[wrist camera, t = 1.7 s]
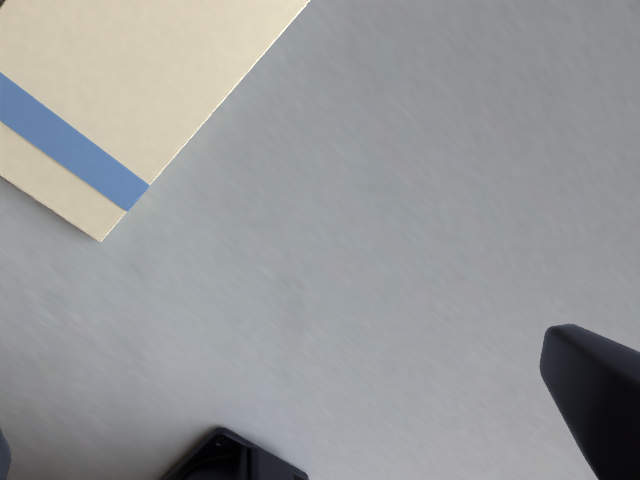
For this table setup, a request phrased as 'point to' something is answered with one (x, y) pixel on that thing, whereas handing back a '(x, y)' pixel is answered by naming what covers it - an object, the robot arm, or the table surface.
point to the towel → (117, 92)
